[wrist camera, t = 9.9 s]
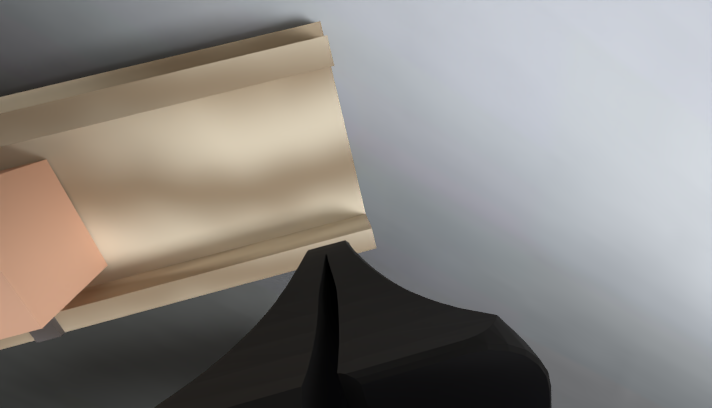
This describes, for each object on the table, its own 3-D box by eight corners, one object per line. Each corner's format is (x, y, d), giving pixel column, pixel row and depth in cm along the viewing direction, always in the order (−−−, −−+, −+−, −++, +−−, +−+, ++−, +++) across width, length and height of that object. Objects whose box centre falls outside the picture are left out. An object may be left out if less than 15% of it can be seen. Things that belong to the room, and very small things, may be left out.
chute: (369, 236, 21) (380, 263, 18) (-25, 342, 20) (-84, 390, 17) (319, 24, 17) (322, 13, 14) (-189, 144, 16) (-307, 161, 13)
